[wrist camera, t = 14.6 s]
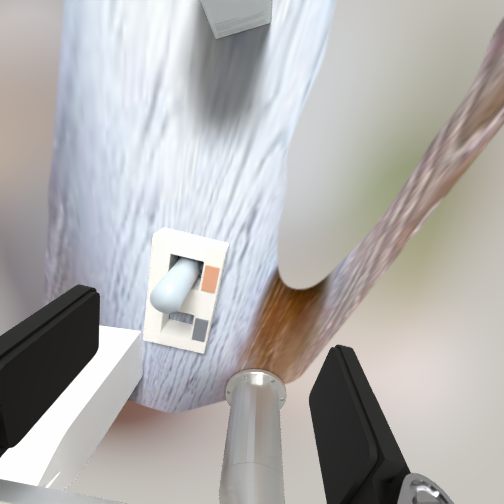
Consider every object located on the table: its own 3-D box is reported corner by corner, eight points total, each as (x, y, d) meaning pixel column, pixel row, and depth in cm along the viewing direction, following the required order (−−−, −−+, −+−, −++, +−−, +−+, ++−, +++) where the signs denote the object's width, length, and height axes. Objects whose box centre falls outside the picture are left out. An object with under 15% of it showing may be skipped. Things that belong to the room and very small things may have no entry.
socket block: (208, 338, 48) (203, 355, 43) (152, 325, 47) (142, 341, 43) (229, 243, 40) (225, 252, 36) (163, 227, 40) (152, 234, 36)
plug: (207, 268, 42) (186, 308, 31) (187, 276, 43) (159, 317, 32) (197, 248, 41) (171, 281, 30) (176, 256, 42) (143, 291, 31)
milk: (140, 331, 48) (12, 509, 24) (142, 375, 52) (35, 566, 28) (79, 322, 48) (-112, 491, 24) (86, 367, 52) (-71, 551, 28)
